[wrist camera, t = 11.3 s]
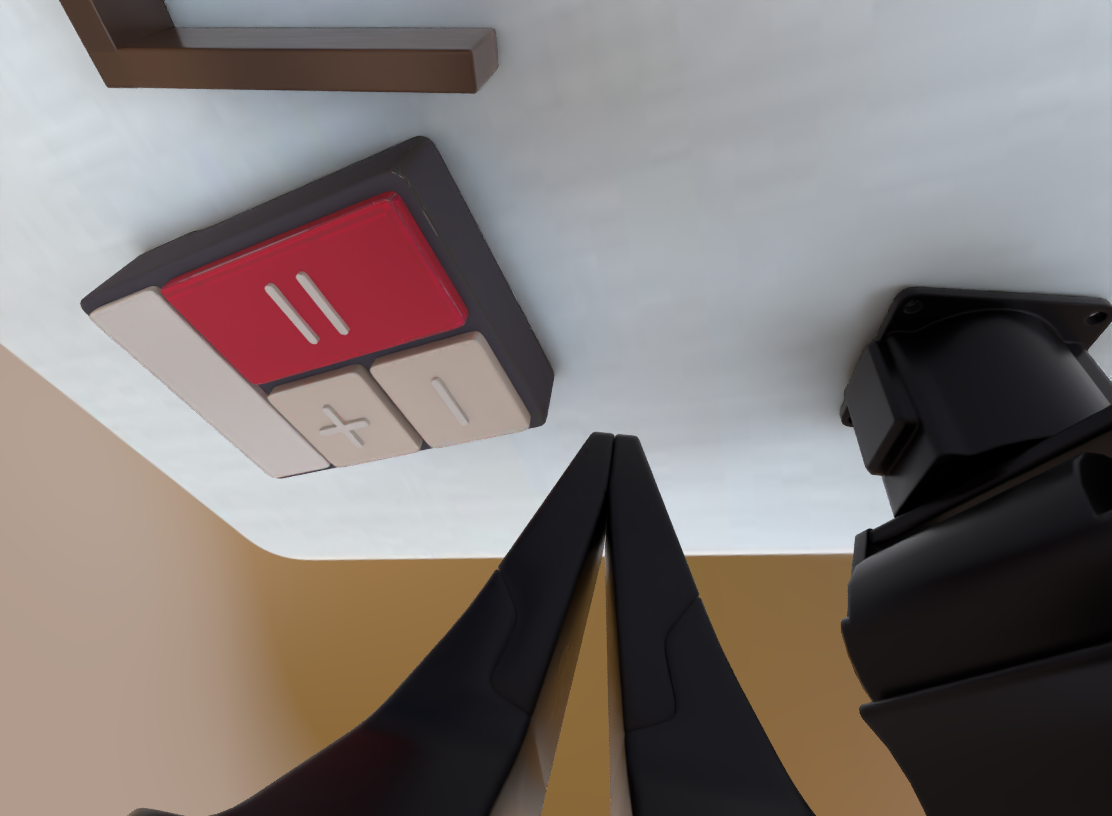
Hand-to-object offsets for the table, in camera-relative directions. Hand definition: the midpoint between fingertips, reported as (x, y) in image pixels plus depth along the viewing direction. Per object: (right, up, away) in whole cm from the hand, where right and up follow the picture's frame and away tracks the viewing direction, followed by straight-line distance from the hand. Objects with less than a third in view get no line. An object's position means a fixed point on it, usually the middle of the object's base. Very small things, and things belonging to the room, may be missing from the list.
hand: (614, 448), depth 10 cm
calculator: (-10, +5, +14) cm, 17 cm away
